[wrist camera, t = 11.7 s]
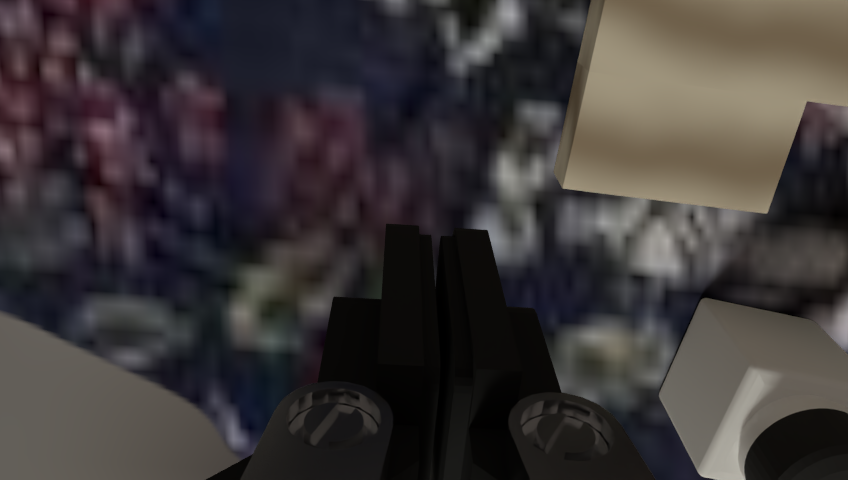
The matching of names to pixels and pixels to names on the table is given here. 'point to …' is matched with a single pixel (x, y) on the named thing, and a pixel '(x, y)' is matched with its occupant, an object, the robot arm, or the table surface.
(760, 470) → the medicine bottle
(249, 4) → the table surface
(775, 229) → the table surface
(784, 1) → the trap deck
